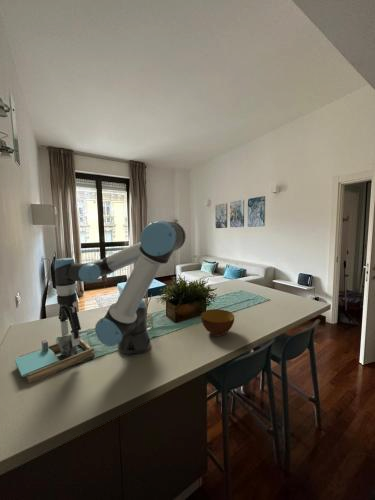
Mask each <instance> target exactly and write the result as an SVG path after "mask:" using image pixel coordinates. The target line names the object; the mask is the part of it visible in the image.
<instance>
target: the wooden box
mask: <svg viewBox="0 0 375 500" xmlns="http://www.w3.org/2000/svg"><path fill="white" fill-rule="evenodd" d="M79 340H80V344H79V346H81V347H82V348H83V349H84V350H83V351H81V352H78V353H77V354H76V355H74V356H71V357H69V356H68V357H66V358H64V359H62V360H60V359H59V358H58V357H57V354H55V353H57V352H61V351H60V349H59V346H58V342H57V343H53V344H52V345H51V344H50V345H48V348H49V349H50V350H51V352H52V353H53V354H54V355H55V357H56V358H57V359H58V361H59V362H56V363H54V364H51V365H49V366H47V367H44V368H42V369H39V370H37V371H34V372H32V373H29V374H28V375H27V376H25V377H26V379H27V381H28V384H31V383H34V382H36V381H38V380H40V379H42V378H45V377H47V376H49V375H52V374H54V373H56V372H59V371H60V370H63V369H66V368H68V367H71V366H73V365H75V364H78V363H80V362H81V361H85V360H87V359H89V358H91V357H94V356H95V348H94V347H91V346H90V345H89V344H88V343H87V342H85V341H84V340H83V339H82V338H81V337H80V335H79ZM41 349H42V348H39V349H36V350H34V351H30V352H27V353H26V354H22V355H20V356H19V357H21V356H24V355H27V354H30V353H33V352H36V351H39V350H41ZM19 357H18V358H19Z"/></svg>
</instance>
